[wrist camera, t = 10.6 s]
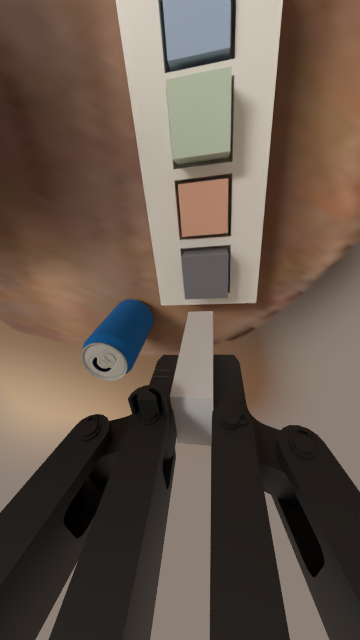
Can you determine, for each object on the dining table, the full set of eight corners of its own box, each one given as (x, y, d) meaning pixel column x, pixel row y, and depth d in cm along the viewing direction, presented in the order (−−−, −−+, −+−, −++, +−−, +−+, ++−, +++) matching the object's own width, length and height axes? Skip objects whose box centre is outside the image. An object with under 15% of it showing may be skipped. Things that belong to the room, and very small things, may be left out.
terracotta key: (185, 233, 25) (182, 236, 23) (181, 186, 23) (177, 184, 20) (226, 229, 25) (227, 233, 22) (226, 180, 22) (228, 178, 20)
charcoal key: (187, 289, 27) (185, 299, 24) (184, 251, 25) (181, 257, 22) (226, 288, 26) (227, 297, 23) (226, 248, 24) (228, 253, 21)
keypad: (168, 291, 32) (161, 305, 28) (130, -4, 19) (105, -65, 14) (249, 288, 30) (256, 302, 26) (273, -44, 17) (294, -128, 13)
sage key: (177, 164, 21) (172, 159, 18) (172, 96, 18) (165, 79, 16) (227, 157, 20) (230, 151, 17) (228, 85, 18) (231, 66, 15)
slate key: (173, 79, 19) (167, 61, 17) (167, -6, 17) (158, -43, 14) (227, 68, 18) (230, 47, 16) (228, -22, 16) (231, -65, 13)
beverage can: (109, 314, 36) (67, 360, 25) (131, 289, 33) (94, 330, 22) (139, 338, 37) (111, 390, 27) (162, 316, 34) (141, 365, 24)
